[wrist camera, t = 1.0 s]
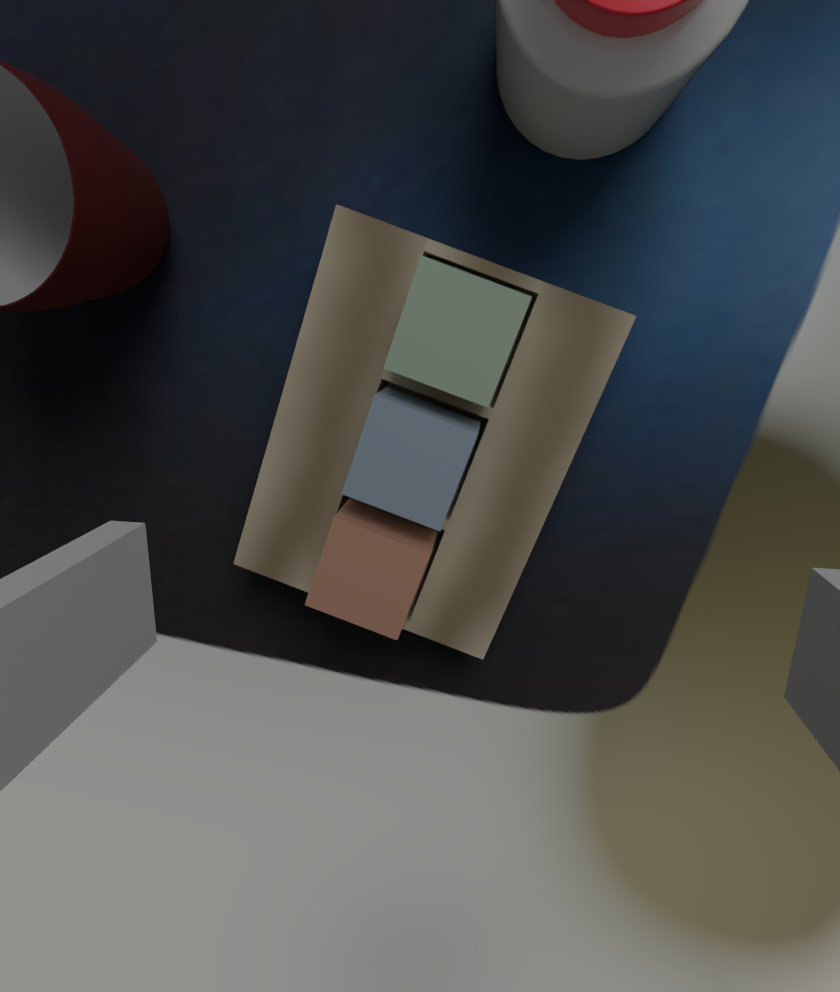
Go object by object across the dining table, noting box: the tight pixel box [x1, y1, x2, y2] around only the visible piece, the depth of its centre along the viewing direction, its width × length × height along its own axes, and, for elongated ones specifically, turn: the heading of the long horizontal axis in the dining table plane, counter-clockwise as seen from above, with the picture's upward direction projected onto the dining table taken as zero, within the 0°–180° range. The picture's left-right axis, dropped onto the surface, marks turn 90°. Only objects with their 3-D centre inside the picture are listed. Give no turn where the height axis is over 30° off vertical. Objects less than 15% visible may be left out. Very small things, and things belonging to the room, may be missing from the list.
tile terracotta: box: [305, 498, 438, 640], centre depth 29 cm, size 4×4×3 cm
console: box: [234, 204, 636, 659], centre depth 30 cm, size 13×17×3 cm
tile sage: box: [384, 255, 532, 408], centre depth 26 cm, size 4×4×3 cm
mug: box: [0, 60, 169, 312], centre depth 26 cm, size 11×8×10 cm
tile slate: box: [342, 387, 480, 531], centre depth 27 cm, size 4×4×3 cm
